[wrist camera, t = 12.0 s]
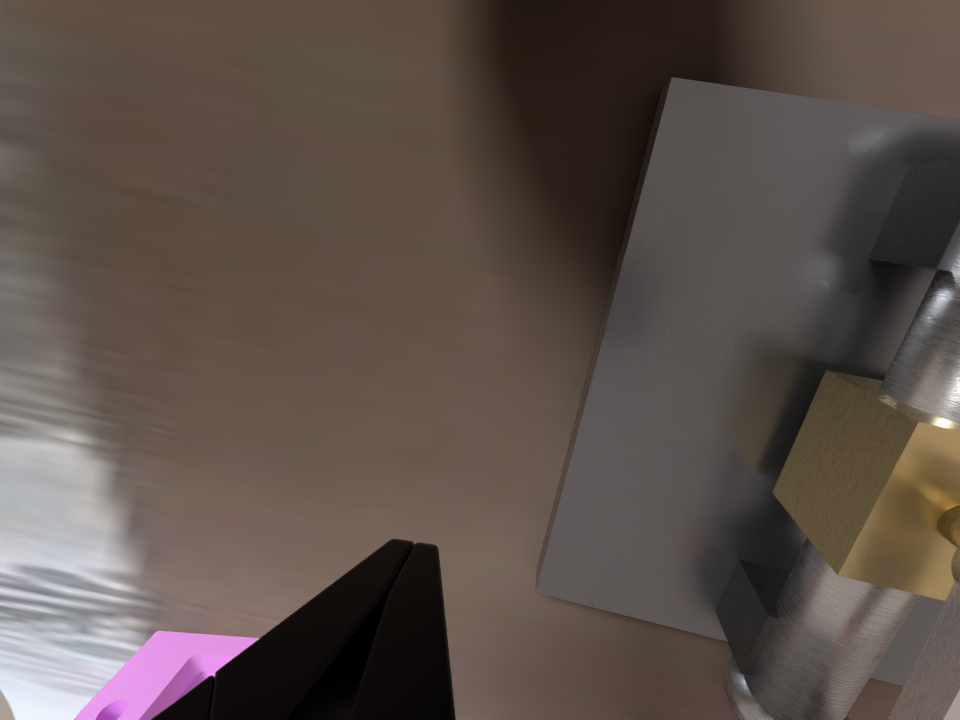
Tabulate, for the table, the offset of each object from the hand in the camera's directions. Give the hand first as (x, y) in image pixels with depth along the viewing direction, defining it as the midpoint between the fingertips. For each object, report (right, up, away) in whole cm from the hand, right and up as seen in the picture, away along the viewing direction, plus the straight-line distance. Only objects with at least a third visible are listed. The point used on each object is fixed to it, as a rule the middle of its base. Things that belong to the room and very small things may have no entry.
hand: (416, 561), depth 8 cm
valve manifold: (+16, +1, +11) cm, 19 cm away
